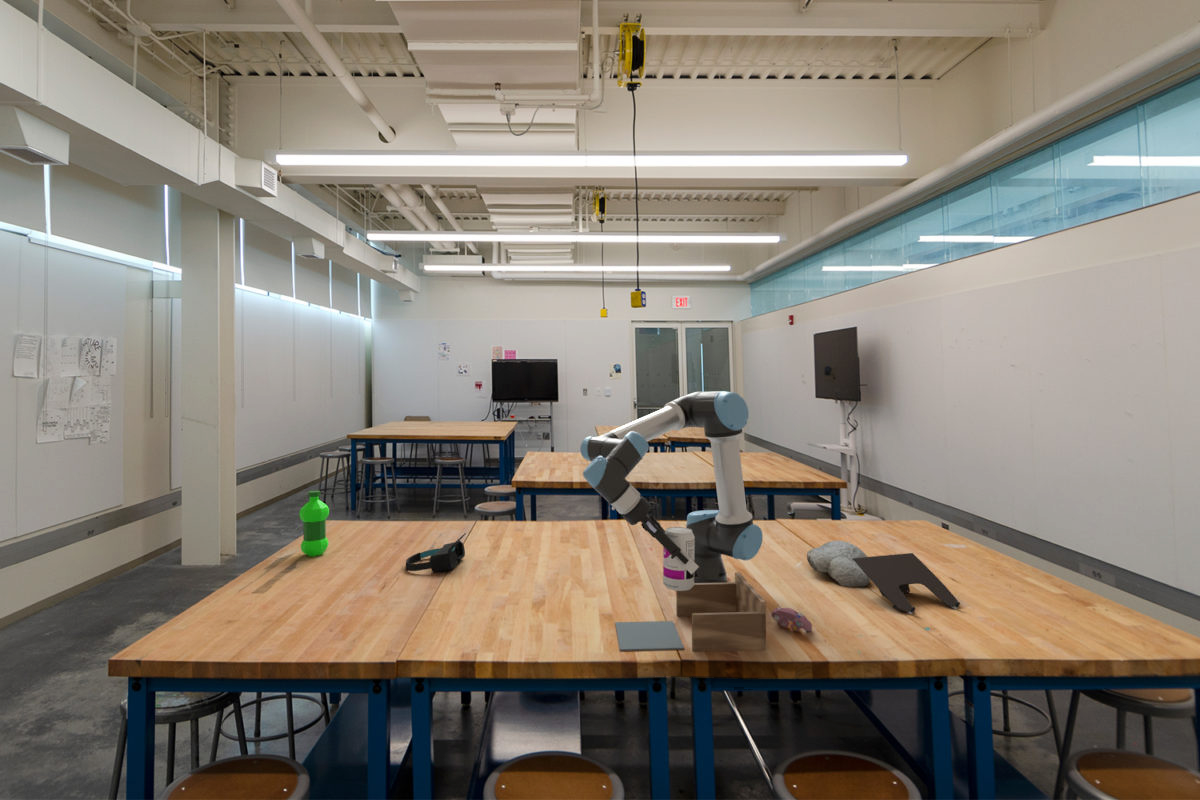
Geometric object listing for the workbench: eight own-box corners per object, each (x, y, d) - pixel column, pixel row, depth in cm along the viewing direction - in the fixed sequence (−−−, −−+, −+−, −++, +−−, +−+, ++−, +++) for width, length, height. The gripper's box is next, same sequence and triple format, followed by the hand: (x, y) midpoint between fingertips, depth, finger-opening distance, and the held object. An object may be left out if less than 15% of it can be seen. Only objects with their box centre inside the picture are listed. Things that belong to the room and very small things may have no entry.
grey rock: (868, 591, 178) (869, 562, 177) (799, 579, 188) (799, 552, 188) (873, 566, 202) (874, 541, 202) (812, 557, 213) (813, 533, 212)
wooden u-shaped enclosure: (676, 614, 159) (676, 573, 158) (739, 613, 159) (739, 571, 159) (693, 651, 136) (693, 603, 136) (765, 649, 137) (765, 601, 137)
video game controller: (772, 629, 152) (767, 610, 150) (779, 617, 155) (774, 598, 153) (807, 641, 145) (802, 621, 143) (814, 628, 148) (809, 608, 146)
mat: (615, 623, 153) (615, 622, 153) (672, 622, 153) (672, 620, 153) (619, 650, 137) (619, 649, 137) (684, 649, 137) (684, 647, 137)
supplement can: (670, 593, 142) (671, 535, 142) (658, 582, 150) (658, 527, 150) (699, 590, 144) (699, 532, 144) (686, 579, 152) (686, 525, 152)
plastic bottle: (293, 557, 215) (293, 493, 214) (315, 549, 225) (314, 488, 225) (314, 559, 212) (314, 494, 212) (335, 551, 222) (334, 489, 222)
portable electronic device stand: (892, 632, 160) (904, 610, 156) (845, 574, 180) (854, 552, 176) (957, 624, 166) (970, 602, 162) (904, 568, 186) (914, 547, 181)
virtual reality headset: (458, 571, 195) (453, 543, 194) (398, 580, 196) (393, 553, 196) (473, 555, 213) (468, 529, 213) (418, 563, 214) (414, 538, 214)
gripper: (617, 507, 156) (673, 562, 157) (625, 524, 135) (689, 588, 136) (636, 488, 157) (692, 544, 158) (646, 503, 136) (711, 567, 137)
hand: (691, 564), depth 147 cm, fingers closed on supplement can, 8 cm apart
